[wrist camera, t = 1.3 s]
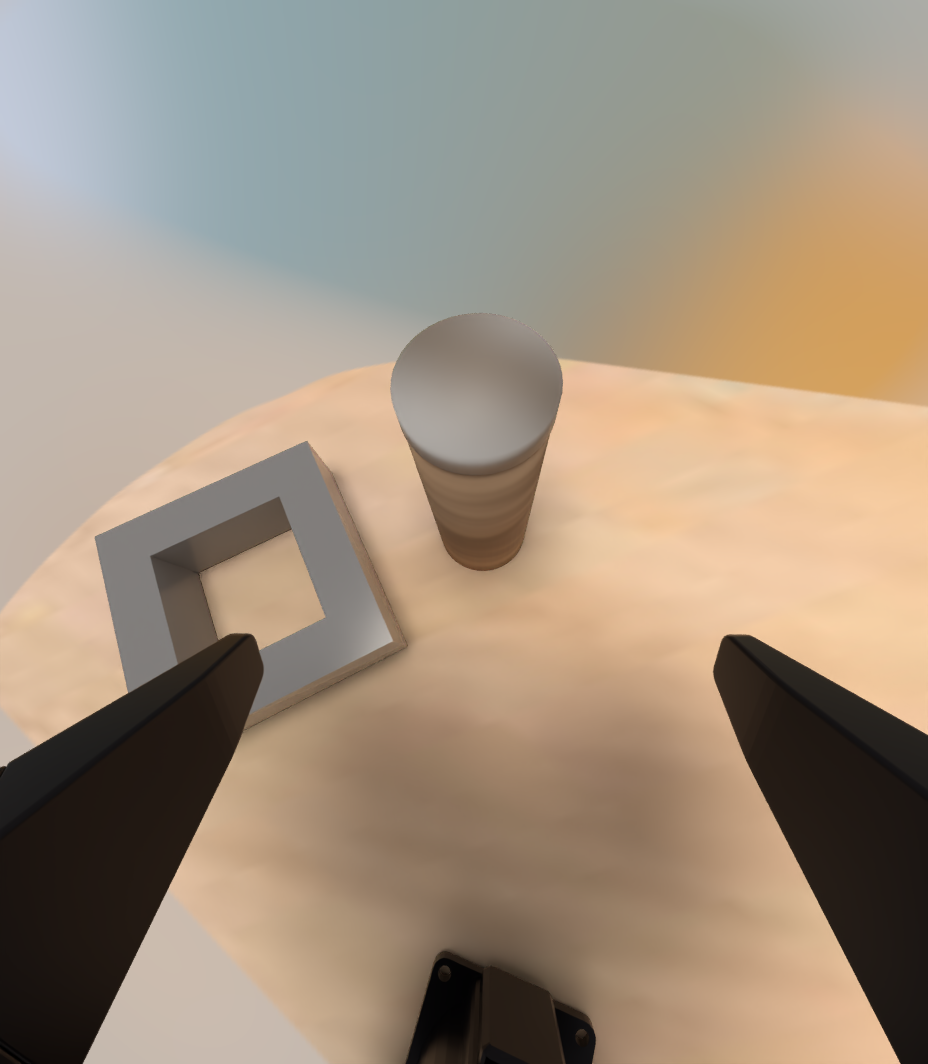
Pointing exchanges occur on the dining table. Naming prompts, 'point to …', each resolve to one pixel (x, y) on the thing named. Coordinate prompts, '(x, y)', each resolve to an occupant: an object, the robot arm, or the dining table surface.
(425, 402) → the post
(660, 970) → the dining table surface
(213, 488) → the grey square frame
